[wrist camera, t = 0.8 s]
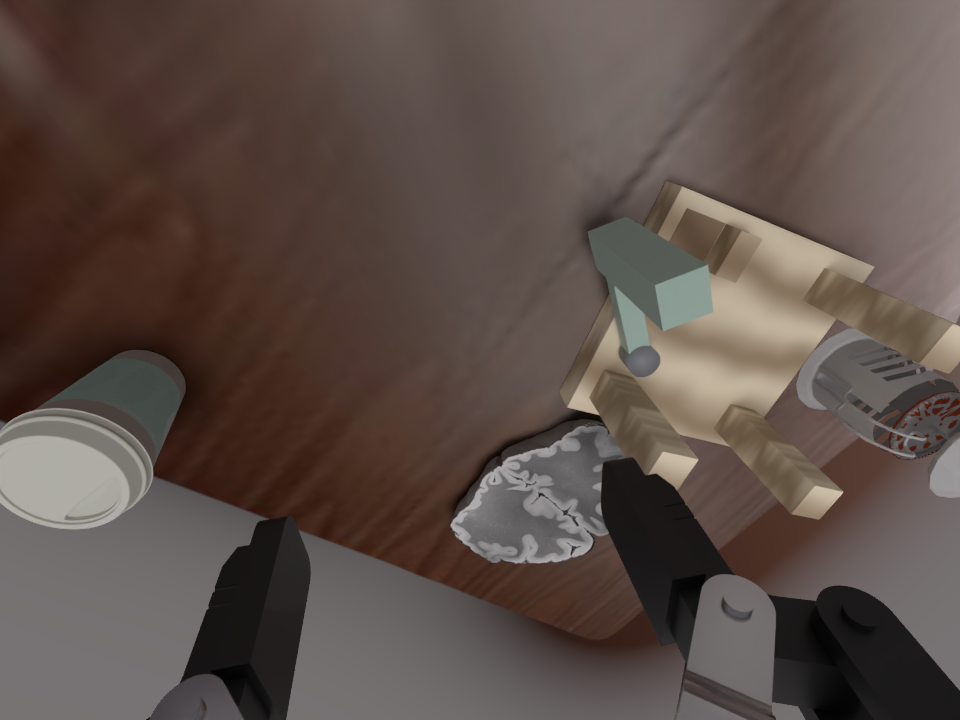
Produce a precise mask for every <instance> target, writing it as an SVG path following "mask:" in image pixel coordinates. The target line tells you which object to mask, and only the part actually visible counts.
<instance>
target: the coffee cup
mask: <svg viewBox="0 0 960 720" xmlns="http://www.w3.org/2000/svg"><path fill="white" fill-rule="evenodd" d="M185 391H186V383H185V379H184V376H183V374H182V373H181V371H180V370H179V368H178V367H177V366H176V365H175V364H174V363H173V362H171V361H170V360H169V359H167V358H165V357H164V356H162V355H159V354H157V353H154V352H151V351H146V350H128V351H124V352H121V353H119V354H117V355H115V356H114V357H112V358H111V359H109V360H108V361H106V362H105V363H103V364H102V365H100V366H99V367H97V368H96V369H95V370H93V371H92V372H90V373H89V374H87V375H86V376H84V377H83V378H81V379H80V380H78V381H77V382H75V383H74V384H73V385H71V386H70V387H68V388H67V389H65V390H64V391H62V392H61V393H59V394H58V395H56V396H55V397H53V398H52V399H50V400H49V401H48V402H46V403H45V404H43V405H42V406H40V407H39V408H37V409H36V410H34V411H31V412H28V413H25V414H22V415H20V416H18V417H16V418H14V419H13V420H11V421H10V422H8V423H7V424H6V425H5V426H4V427H3V428H2V430H1V431H0V503H1V504H2V505H4V506H5V507H6V508H7V509H9V510H10V511H12V512H13V513H15V514H17V515H18V516H20V517H22V518H24V519H27V520H29V521H32V522H34V523H37V524H41V525H44V526H48V527H54V528H61V529H85V528H92V527H96V526H100V525H103V524H105V523H108V522H110V521H112V520H113V519H115V518H116V517H117V516H119V515H120V514H121V513H123V512H124V511H126V510H128V509H130V508H131V507H132V506H134V505H135V504H136V503H137V502H138V501H139V500H140V499H141V498H142V497H143V496H144V495H145V493H146V492H147V491H148V489H149V487H150V485H151V483H152V479H153V466H154V464H155V462H156V459H157V457H158V455H159V452H160V450H161V448H162V445H163V443H164V441H165V439H166V436H167V434H168V432H169V429H170V427H171V425H172V422H173V420H174V418H175V416H176V413H177V411H178V409H179V406H180V404H181V401H182V399H183V397H184V394H185Z"/></svg>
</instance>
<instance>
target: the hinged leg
mask: <svg viewBox="0 0 960 720" xmlns="http://www.w3.org/2000/svg"><path fill="white" fill-rule="evenodd" d="M587 233H588V237H589V241H590V245H591V249H592V253H593V258H594V262H595V266H596V269H597V270H598V271H599V272H601V273H602V274H603V275H604V276H605V277H606V280H607V284H608V289H609V293H610V297H611V302H612V306H613V310H614V315H615V319H616V323H617V327H618V332H619V336H620V340H621V345H622V346H621V348H620V350H619V357H620V359H621V361H622V362H623V363H624V364H625V365H626V367H627V368H628V369H629V370H630V372H631V373H632V374H633V375H634V376H636V377H646V376H649V375H651V374H652V373H654V372H655V371H656V370H657V368H658V367H659V365H660V355H659V354H658V353H657V351H656V350H655V349H654V348H653V347H652V346H651V345H650V342H649V337H648V332H647V326H646V321H645V316H644V314H645V315H646V316H647V317H648V318H649V319H650V320H652V321H653V322H654V323H655V324H656V325H657V326H658V327H659V328H660V329H661V330H662V331H665V330H668V329H671V328H673V327H676V326H678V325H681V324H684V323H686V322H689V321H692V320H694V319H697V318H699V317H702V316H705V315H707V314H710V313H713V304H712V295H711V286H710V277H709V268H708V264H706V263H704V262H703V261H701V260H699V259H698V258H696V257H694V256H692V255H691V254H689V253H687V252H686V251H684V250H682V249H681V248H679V247H677V246H675V245H674V244H672V243H670V242H669V241H667V240H665V239H664V238H662V237H660V236H659V235H657V234H655V233H653V232H652V231H650V230H648V229H647V228H645V227H643V226H642V225H640V224H638V223H637V222H635V221H633V220H631V219H630V218H628V217H623V218H621V219H618V220H616V221H613V222H611V223H608V224H606V225H603V226H600V227H598V228H595V229H593V230H590V231H588V232H587Z"/></svg>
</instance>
